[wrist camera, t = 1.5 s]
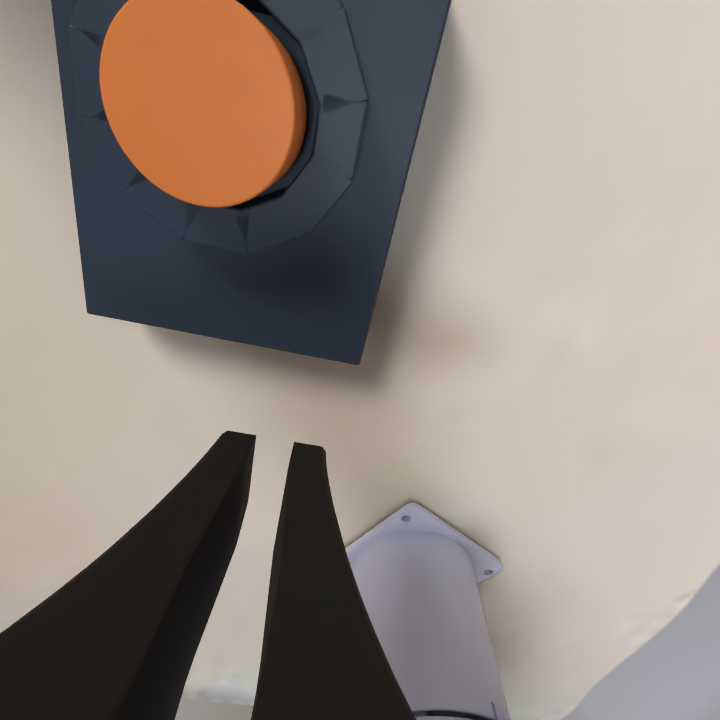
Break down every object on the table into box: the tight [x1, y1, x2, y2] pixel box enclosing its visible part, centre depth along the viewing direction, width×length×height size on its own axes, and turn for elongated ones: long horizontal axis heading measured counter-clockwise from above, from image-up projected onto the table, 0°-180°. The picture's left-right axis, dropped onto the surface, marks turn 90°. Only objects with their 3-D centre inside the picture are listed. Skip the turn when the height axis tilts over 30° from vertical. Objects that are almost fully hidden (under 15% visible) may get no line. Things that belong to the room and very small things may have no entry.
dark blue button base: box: [51, 0, 451, 365], centre depth 13 cm, size 12×10×4 cm
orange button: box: [99, 0, 307, 208], centre depth 10 cm, size 4×4×2 cm
